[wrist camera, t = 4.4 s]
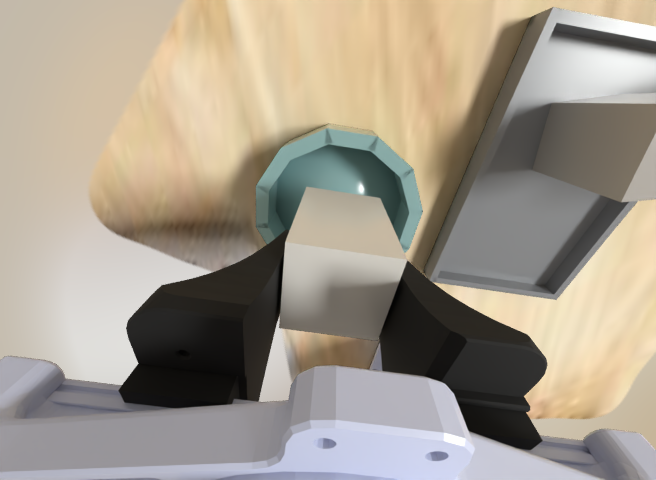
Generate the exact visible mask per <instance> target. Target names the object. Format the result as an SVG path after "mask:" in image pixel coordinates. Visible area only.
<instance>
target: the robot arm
mask: <svg viewBox="0 0 656 480" xmlns="http://www.w3.org/2000/svg"><path fill="white" fill-rule="evenodd" d="M289 231H290V230H285V231H283V232H282V233H281V234H280V235H279V236H277V237H276V238H275V239H274V240H273V241H271V242H270V243H269V244H267V245H266V246H265V247H263V248H262V249H260V250H259V251H257V252H256V253H254V254H253V255H251V256H249V257H247V258H246V259H244V260H242V261H240V262H238V263H235V264H233V265H231V266H228V267H226V268H223V269H221V270H218V271H216V272H213V273H210V274H207V275H203V276H200V277H196V278H193V279H189V280H184V281H180V282H175V283H170V284H166V285H162V286H161V287H160V288H159V289H157V290H156V291H155V293H153V294H152V295H151V296H150V297H149V298H148V300H147V301H146V302H145V303H144V304H143V305H142V306H141V307H140V308H139V309H138V310H137V311H136V312H135V313H134V314H133V316H132V317H131V318H130V319H129V320H128V323H127V327H126V329H127V334H128V338H129V341H130V343H131V346H132V348H133V351H134V353H135V356H136V358H137V361H138V363H139V364H138V365H137V366H136V368H135V369H134V370H133V372H132V373H131V374H130V376H129V377H128V378H127V380H126V381H125V382H124V383H123V385H113V384H106V383H97V382H89V381H80V380H72V379H65V375H64V373H63V371H62V369H61V368H60V367H59V366H58V365H57V364H55V363H53V362H50V361H46V360H40V359H32V358H23V357H15V356H6V357H4V358H3V359H1V360H0V480H656V450H655V449H654V448H653V447H652V446H651V444H650V443H649V442H648V441H647V440H646V439H645V438H644V437H643V436H642V434H639V433H637V432H630V431H622V430H614V429H599V430H595V431H593V432H591V433H590V434H588V435H587V436H586V437H584V439H583V441H582V440H574V439H565V438H557V437H549V436H541V435H539V433H538V432H537V430H536V428H535V427H534V425H533V424H532V422H531V420H530V418H529V417H528V415H527V413H526V412H528V411H530V406H529V404H528V402H527V401H526V399H525V398H524V396H525V395H526V394H527V393H528V392H529V391H530V390H531V389H532V388H533V387H534V386H535V385H536V384H537V383H538V382H539V381H540V379H541V378H542V377H543V376H544V374H545V371H546V368H547V360H546V358H545V356H544V355H543V354H542V352H541V351H540V350H539V349H538V347H537V346H536V345H535V344H534V342H533V341H532V340H531V338H530V337H529V336H528V335H527V334H525V333H522V332H520V331H518V330H515V329H513V328H511V327H509V326H506V325H504V324H502V323H499V322H497V321H495V320H493V319H491V318H489V317H487V316H485V315H483V314H481V313H479V312H478V311H476V310H474V309H472V308H470V307H468V306H467V305H465V304H463V303H462V302H460V301H459V300H457V299H455V298H454V297H452V296H451V295H449V294H448V293H446V292H445V291H443V290H442V289H441V288H439V287H438V286H436V285H435V284H434V283H432V282H431V281H430V280H429V279H427V278H426V277H425V276H424V275H423V274H422V273H420V272H419V271H418V270H417V269H416V268H415V267H414V266H413V265H412V264H411V263H410V262H409V261H407V262H406V265H405V268H404V271H403V273H402V276H401V279H400V281H399V284H398V287H397V290H396V292H395V295H394V298H393V300H392V303H391V306H390V308H389V311H388V314H387V317H386V319H385V322H384V325H383V327H382V330H381V333H380V336H379V339H380V343H379V345H378V348H377V350H376V353H375V356H374V358H373V361H372V363H371V366H370V369H362V368H354V367H346V366H338V365H328V366H315V367H313V368H310V369H308V370H306V371H303V372H301V373H300V374H298V375H297V377H296V378H295V380H294V381H293V383H292V385H291V388H290V395H289V400H286V401H272V402H258V401H259V397H260V392H261V388H262V383H263V379H264V375H265V370H266V366H267V361H268V357H269V353H270V349H271V344H272V340H273V336H274V332H275V328H276V324H277V321H278V318H279V315H280V310H281V295H282V281H283V267H284V253H285V241H286V239H287V236H288V234H289Z"/></svg>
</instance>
